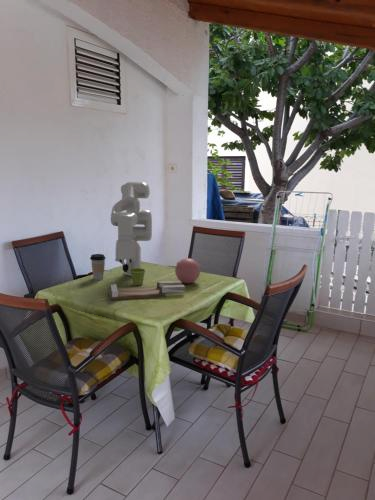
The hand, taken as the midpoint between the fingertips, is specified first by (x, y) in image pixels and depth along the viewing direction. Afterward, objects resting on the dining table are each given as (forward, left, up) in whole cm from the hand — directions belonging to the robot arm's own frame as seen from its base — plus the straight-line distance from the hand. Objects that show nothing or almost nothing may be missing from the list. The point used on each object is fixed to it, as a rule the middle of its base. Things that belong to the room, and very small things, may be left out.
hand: (125, 271), depth 216 cm
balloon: (-25, +40, -15) cm, 49 cm away
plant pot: (-25, +10, -15) cm, 31 cm away
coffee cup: (-40, -13, -15) cm, 45 cm away
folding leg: (-4, -6, -13) cm, 15 cm away
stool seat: (-6, +12, -15) cm, 20 cm away
